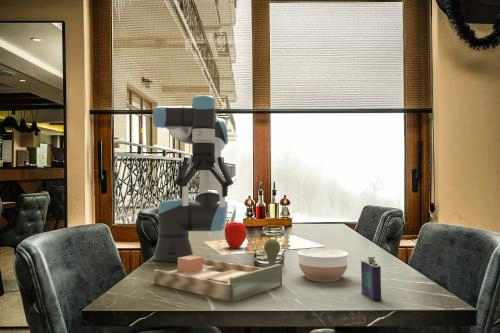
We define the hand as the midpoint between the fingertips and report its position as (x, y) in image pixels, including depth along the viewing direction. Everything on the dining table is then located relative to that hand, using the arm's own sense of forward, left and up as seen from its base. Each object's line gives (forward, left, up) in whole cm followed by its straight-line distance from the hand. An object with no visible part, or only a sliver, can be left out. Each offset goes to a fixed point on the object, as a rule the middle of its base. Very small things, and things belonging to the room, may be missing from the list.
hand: (203, 206), depth 143 cm
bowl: (+34, +19, -22) cm, 45 cm away
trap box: (+13, -8, -22) cm, 27 cm away
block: (+2, -8, -20) cm, 21 cm away
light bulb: (+13, +21, -22) cm, 33 cm away
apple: (-25, +46, -22) cm, 56 cm away
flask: (+55, +7, -22) cm, 60 cm away
